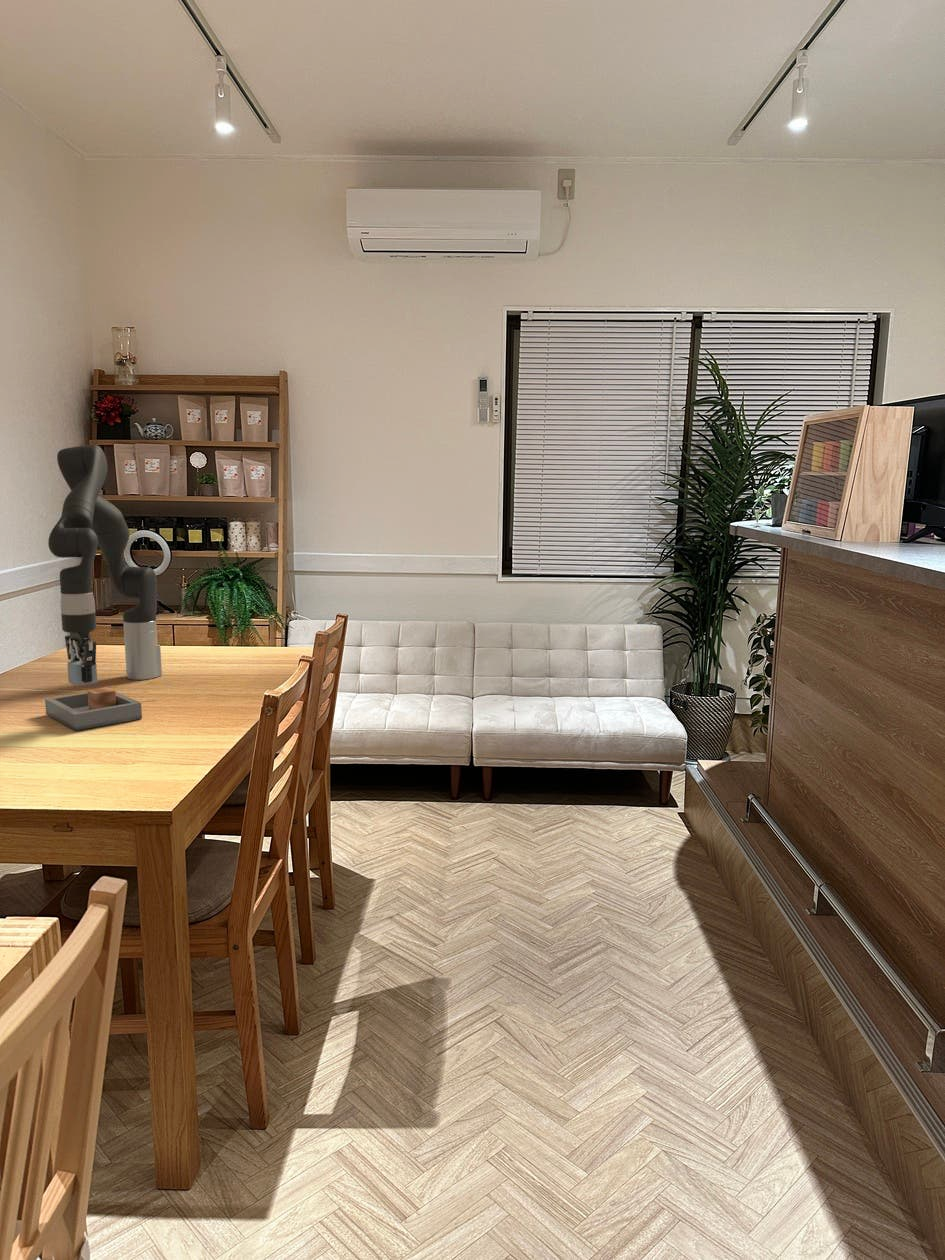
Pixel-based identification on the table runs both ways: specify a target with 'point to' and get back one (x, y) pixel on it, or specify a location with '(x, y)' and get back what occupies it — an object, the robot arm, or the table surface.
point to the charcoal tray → (91, 711)
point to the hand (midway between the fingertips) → (82, 679)
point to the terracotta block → (101, 698)
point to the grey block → (79, 673)
